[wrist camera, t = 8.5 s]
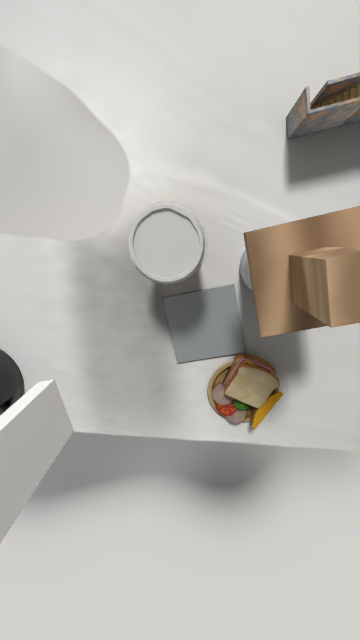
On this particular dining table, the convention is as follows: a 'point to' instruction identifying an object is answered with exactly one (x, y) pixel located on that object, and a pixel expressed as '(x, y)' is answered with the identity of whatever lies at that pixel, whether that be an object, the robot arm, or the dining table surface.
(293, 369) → the dining table surface
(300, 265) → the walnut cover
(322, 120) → the ruin model on sheet
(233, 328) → the grey square tile
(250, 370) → the toy sandwich meal
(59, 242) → the dining table surface
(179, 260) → the disposable coffee cup
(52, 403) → the robot arm
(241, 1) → the dining table surface
